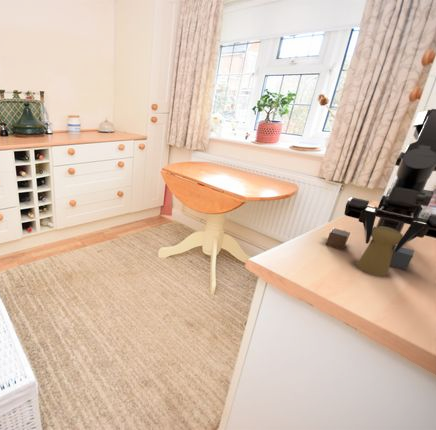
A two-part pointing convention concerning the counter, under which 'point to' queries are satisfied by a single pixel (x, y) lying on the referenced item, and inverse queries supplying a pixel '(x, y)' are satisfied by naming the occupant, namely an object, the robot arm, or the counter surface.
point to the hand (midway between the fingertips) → (380, 247)
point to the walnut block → (337, 238)
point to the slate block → (401, 257)
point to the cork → (379, 251)
